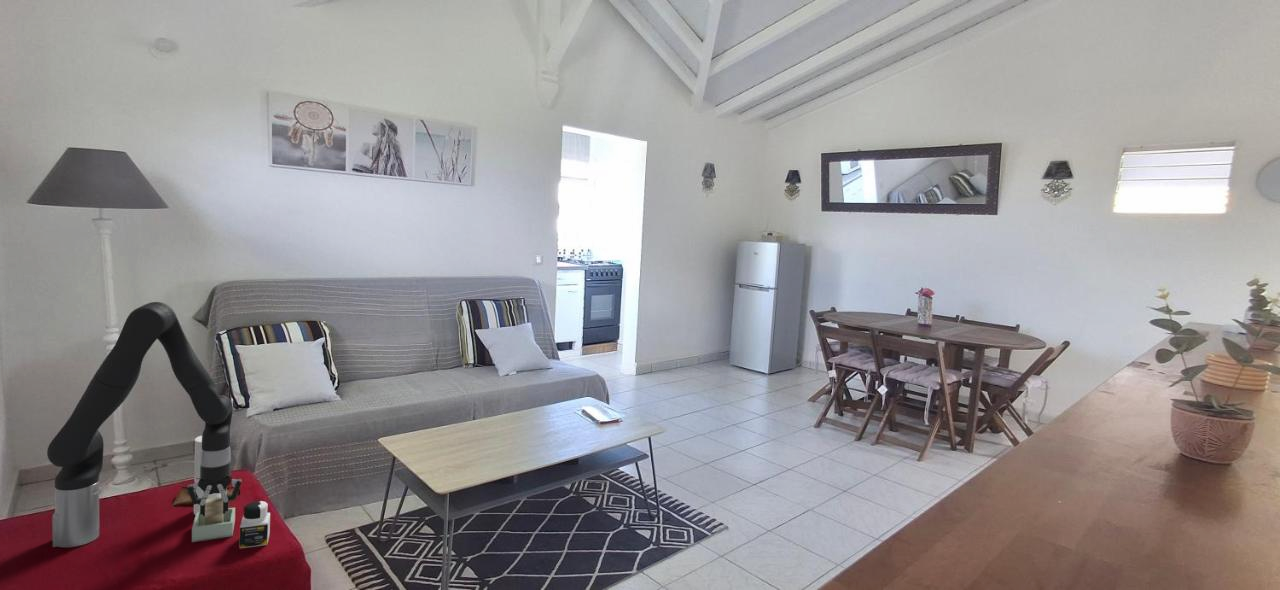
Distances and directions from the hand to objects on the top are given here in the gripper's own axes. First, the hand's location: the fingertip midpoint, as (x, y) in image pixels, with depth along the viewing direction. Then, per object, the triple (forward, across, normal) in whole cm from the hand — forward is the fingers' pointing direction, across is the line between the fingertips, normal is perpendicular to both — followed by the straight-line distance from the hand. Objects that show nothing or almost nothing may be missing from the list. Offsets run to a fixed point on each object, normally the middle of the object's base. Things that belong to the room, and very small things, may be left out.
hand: (214, 513), depth 182 cm
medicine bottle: (+6, +11, -10) cm, 16 cm away
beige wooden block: (+5, 0, 0) cm, 5 cm away
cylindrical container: (+6, -3, +15) cm, 16 cm away
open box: (+6, 0, 0) cm, 6 cm away
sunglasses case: (+6, -4, +23) cm, 24 cm away
